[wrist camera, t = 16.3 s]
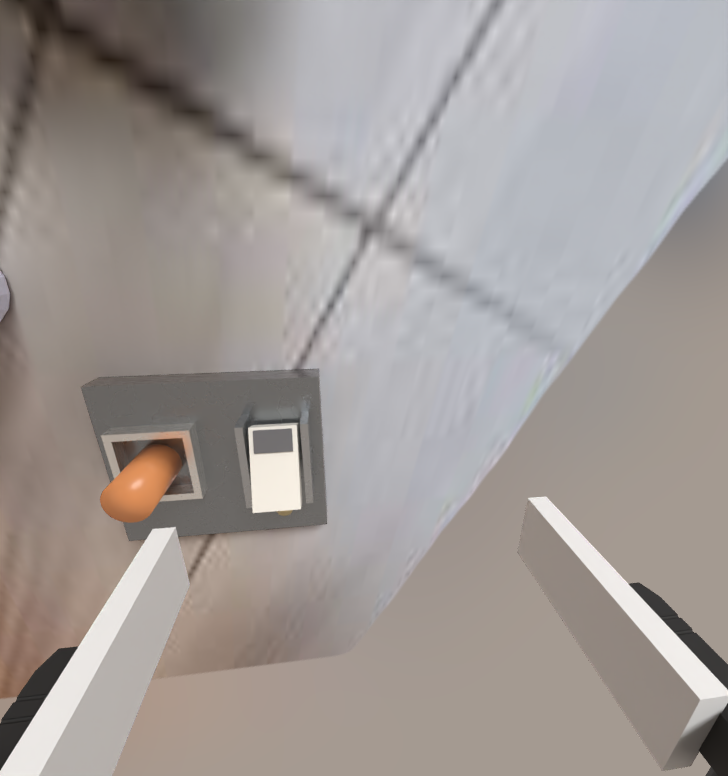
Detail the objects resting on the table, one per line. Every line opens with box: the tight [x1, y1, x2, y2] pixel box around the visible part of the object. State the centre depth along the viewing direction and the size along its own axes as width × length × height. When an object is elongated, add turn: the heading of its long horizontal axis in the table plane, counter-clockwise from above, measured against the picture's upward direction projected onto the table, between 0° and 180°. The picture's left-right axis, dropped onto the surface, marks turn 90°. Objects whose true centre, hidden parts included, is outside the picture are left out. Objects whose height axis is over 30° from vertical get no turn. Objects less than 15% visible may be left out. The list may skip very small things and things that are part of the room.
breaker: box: [248, 423, 302, 513], centre depth 37 cm, size 9×5×2 cm, turn 0°
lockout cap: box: [100, 444, 182, 523], centre depth 36 cm, size 5×5×7 cm
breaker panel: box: [81, 369, 327, 541], centre depth 40 cm, size 20×24×6 cm
